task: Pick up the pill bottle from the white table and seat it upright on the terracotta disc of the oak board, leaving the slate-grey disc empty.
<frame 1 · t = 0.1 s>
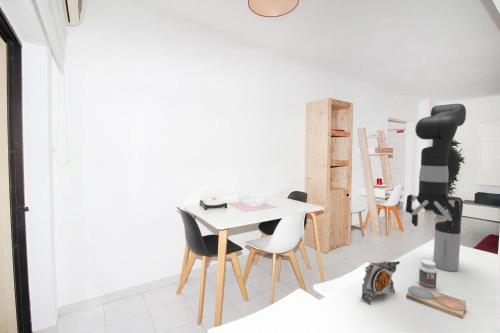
hand: (431, 228, 81), 29 cm above the table, fingers open, 8 cm apart
board: (435, 301, 89), on the table
terracotta pad: (451, 306, 86), resting on board
meal: (380, 297, 92), on the table
pill bottle: (427, 286, 99), on the table
grey pad: (420, 296, 93), resting on board
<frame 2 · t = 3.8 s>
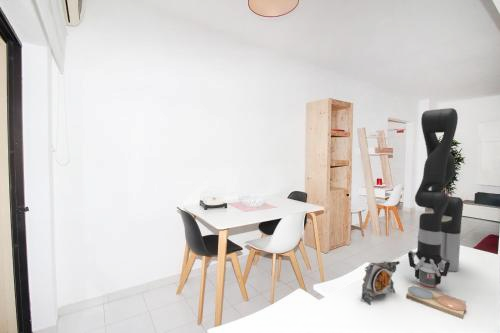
hand: (427, 280, 99), 2 cm above the table, fingers closed on pill bottle, 5 cm apart
pill bottle: (427, 286, 99), on the table, touching gripper
everything else where it was.
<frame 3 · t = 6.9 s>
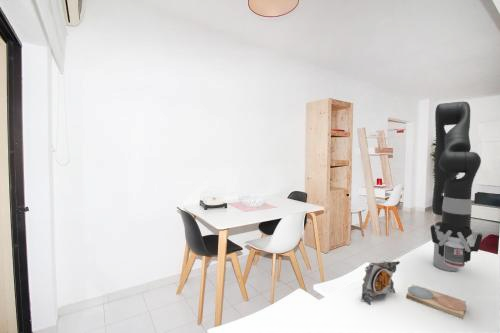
hand: (453, 258, 85), 17 cm above the table, fingers closed on pill bottle, 5 cm apart
pill bottle: (453, 264, 85), point 15 cm above the table, touching gripper
everything else where it was.
when the fingers open (4 cm above the table, at t = 10.0 s): pill bottle stays where it is, resting on terracotta pad.
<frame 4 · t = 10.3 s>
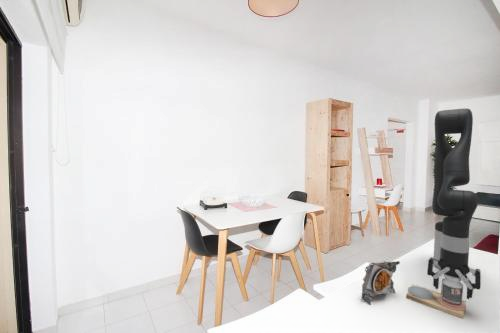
hand: (451, 292, 86), 5 cm above the table, fingers open, 8 cm apart
pill bottle: (451, 303, 86), point 1 cm above the table, touching terracotta pad
everything else where it was.
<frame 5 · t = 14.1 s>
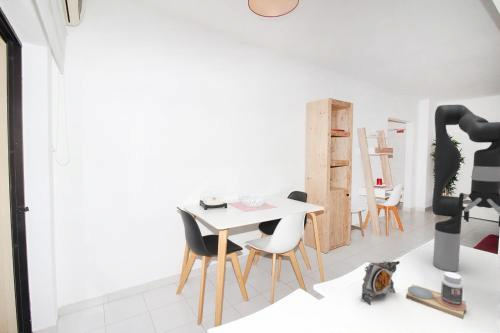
hand: (482, 223, 89), 28 cm above the table, fingers open, 8 cm apart
nothing on the table moved.
at the end: pill bottle inside the target area (0.1 cm from its centre), point 1.3 cm above the table; pill bottle tilted 0°; the gripper is holding nothing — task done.
